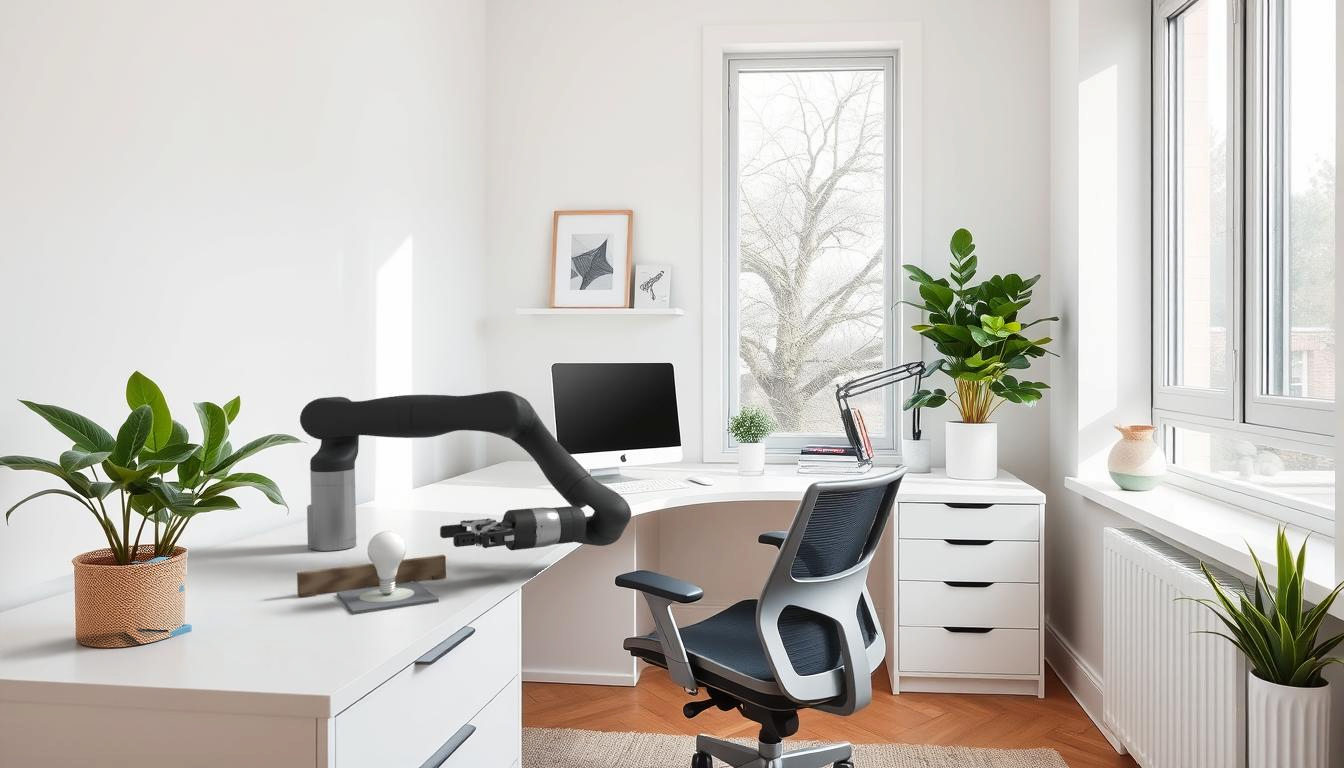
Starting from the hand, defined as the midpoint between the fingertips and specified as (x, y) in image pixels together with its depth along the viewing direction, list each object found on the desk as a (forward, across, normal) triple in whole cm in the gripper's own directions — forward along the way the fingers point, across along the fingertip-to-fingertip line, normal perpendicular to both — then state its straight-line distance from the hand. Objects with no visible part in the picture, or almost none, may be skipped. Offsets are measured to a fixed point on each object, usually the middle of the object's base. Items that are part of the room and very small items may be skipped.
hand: (447, 536), depth 161 cm
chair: (+46, +3, +10) cm, 47 cm away
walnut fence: (+11, -8, +10) cm, 17 cm away
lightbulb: (+11, +2, +9) cm, 14 cm away
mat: (+11, +2, +9) cm, 15 cm away
